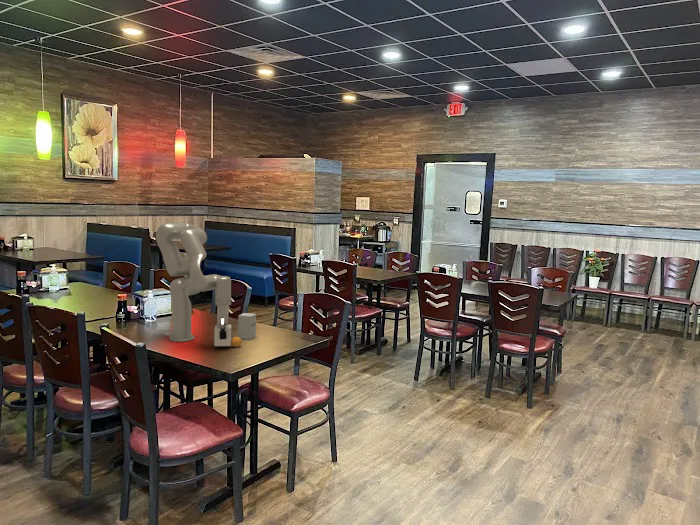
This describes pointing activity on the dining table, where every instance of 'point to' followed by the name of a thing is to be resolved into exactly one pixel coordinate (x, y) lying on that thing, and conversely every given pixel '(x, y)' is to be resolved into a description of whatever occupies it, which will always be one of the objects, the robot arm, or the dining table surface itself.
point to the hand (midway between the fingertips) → (223, 336)
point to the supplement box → (247, 326)
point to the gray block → (222, 341)
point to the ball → (236, 341)
